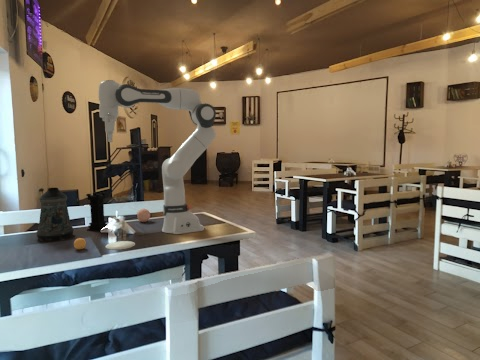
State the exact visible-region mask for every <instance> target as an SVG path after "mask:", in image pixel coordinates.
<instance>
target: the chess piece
mask: <svg viewBox="0 0 480 360" xmlns="http://www.w3.org/2000/svg"><path fill="white" fill-rule="evenodd" d="M106 195H107V192H101V194H100V193H98V191H97V192H96V191H95V192H92V194H91V193H86V195H85V196H86V197H87V201H89V206H90V222H89V223H88V224H89V225H88V227H87V229H86V231H88V232H89V231H90V232H101V231H100V230H101V229H102V228H103V227H105V226H106V225H107V224H108V223H107V220H105V211H104V210H105V207H104V205H105V202H104V200H105V199H106ZM107 226H108V225H107Z"/></svg>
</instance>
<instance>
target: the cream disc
mask: <svg viewBox="0 0 480 360" xmlns="http://www.w3.org/2000/svg"><path fill="white" fill-rule="evenodd" d="M134 246H136V243H135V242H134V241H130V240H122V241H121V240H119V241H114V242H110V243H107V244H106V245H105V249H108V250H112V251H113V250H114V251H116V250H119V251H120V250H126V249H130V248H132V247H134Z"/></svg>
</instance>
